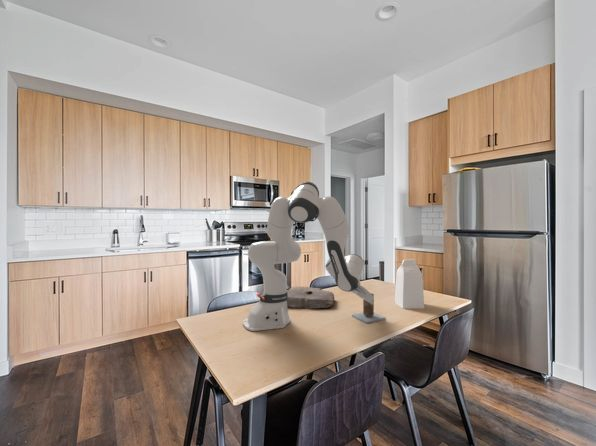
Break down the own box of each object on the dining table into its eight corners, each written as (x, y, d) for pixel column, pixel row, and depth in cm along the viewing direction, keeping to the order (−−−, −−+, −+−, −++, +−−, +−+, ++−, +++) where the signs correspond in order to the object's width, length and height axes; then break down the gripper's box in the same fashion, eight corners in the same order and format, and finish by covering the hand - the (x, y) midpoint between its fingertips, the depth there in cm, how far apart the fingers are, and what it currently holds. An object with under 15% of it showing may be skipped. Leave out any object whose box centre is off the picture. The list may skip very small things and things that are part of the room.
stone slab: (277, 308, 154) (277, 297, 154) (289, 294, 183) (289, 284, 183) (333, 311, 148) (333, 299, 148) (335, 296, 177) (335, 286, 177)
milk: (414, 302, 162) (414, 258, 162) (424, 308, 151) (424, 261, 151) (394, 302, 162) (394, 258, 162) (402, 308, 151) (402, 261, 150)
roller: (368, 316, 134) (368, 296, 133) (361, 313, 138) (361, 293, 138) (375, 315, 136) (375, 294, 136) (368, 312, 140) (368, 292, 140)
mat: (366, 323, 129) (366, 321, 129) (351, 316, 139) (351, 314, 139) (385, 319, 135) (385, 317, 135) (370, 312, 145) (370, 311, 144)
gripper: (364, 282, 125) (384, 302, 127) (347, 274, 145) (364, 291, 147) (355, 293, 124) (375, 313, 126) (339, 283, 144) (356, 300, 146)
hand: (369, 301), depth 137 cm, fingers closed on roller, 5 cm apart
